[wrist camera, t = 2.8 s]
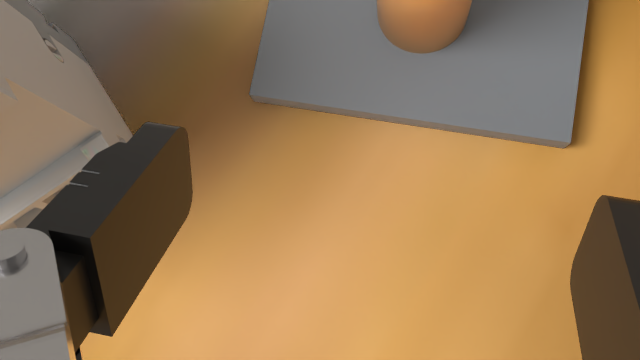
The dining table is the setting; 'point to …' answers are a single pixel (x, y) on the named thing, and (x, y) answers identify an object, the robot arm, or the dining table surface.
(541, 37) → the lockout board
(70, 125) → the circuit breaker
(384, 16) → the wooden peg
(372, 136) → the dining table surface
